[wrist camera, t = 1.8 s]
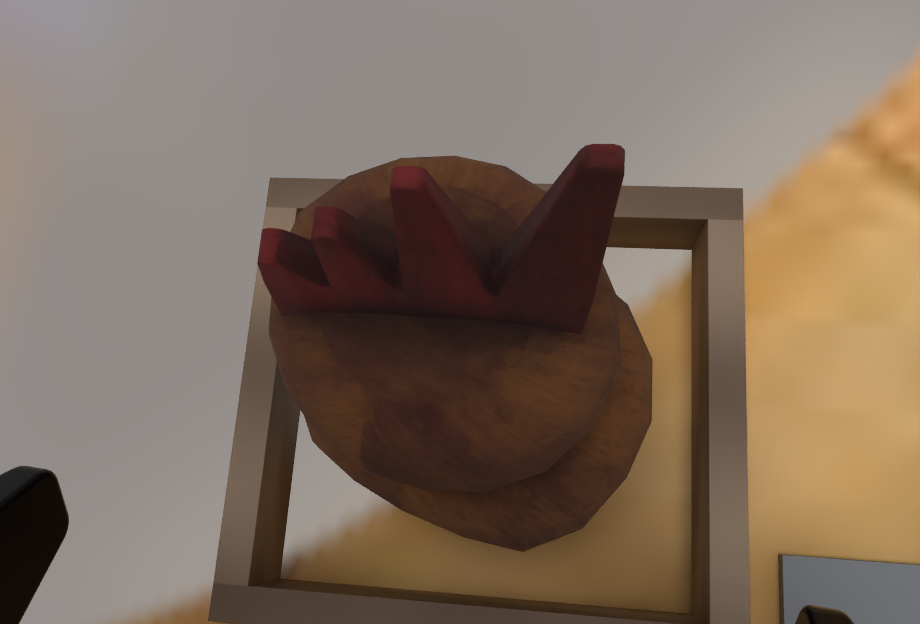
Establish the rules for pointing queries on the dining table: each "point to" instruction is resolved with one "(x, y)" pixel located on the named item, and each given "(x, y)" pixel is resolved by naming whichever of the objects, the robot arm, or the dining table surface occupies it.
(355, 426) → the wooden figurine
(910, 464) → the dining table surface
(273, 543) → the walnut holder frame
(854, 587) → the charcoal mat
